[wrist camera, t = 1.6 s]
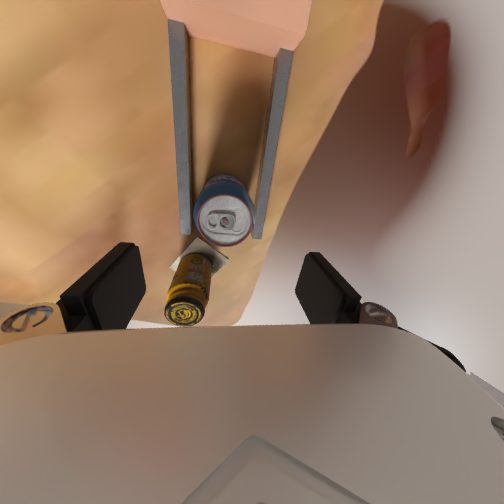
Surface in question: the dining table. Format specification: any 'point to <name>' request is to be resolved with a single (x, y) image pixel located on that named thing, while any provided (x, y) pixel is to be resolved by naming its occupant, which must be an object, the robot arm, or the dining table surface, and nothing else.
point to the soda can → (224, 211)
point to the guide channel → (183, 134)
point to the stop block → (244, 22)
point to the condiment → (192, 283)
